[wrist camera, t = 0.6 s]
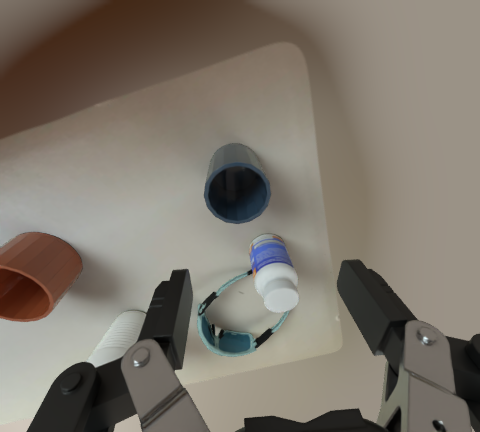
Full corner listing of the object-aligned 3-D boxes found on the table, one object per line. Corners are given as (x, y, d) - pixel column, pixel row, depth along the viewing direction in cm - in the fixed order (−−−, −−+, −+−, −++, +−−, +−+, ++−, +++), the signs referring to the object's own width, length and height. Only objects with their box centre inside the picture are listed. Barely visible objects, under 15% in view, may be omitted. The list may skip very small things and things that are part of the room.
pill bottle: (242, 242, 33) (248, 295, 24) (276, 226, 32) (294, 276, 23) (258, 267, 35) (269, 323, 27) (290, 253, 34) (312, 306, 26)
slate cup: (213, 138, 26) (209, 156, 19) (264, 148, 26) (278, 169, 20) (206, 187, 28) (200, 218, 21) (252, 194, 29) (261, 227, 22)
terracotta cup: (-1, 227, 29) (-55, 259, 24) (78, 237, 31) (44, 269, 25) (18, 280, 34) (-24, 318, 28) (86, 286, 35) (59, 324, 30)
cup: (94, 307, 38) (49, 381, 28) (151, 296, 37) (125, 368, 27) (121, 342, 42) (91, 415, 33) (172, 332, 42) (156, 404, 32)
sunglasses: (182, 311, 39) (179, 336, 34) (243, 254, 36) (249, 274, 32) (239, 343, 44) (243, 369, 40) (296, 296, 42) (307, 318, 37)
